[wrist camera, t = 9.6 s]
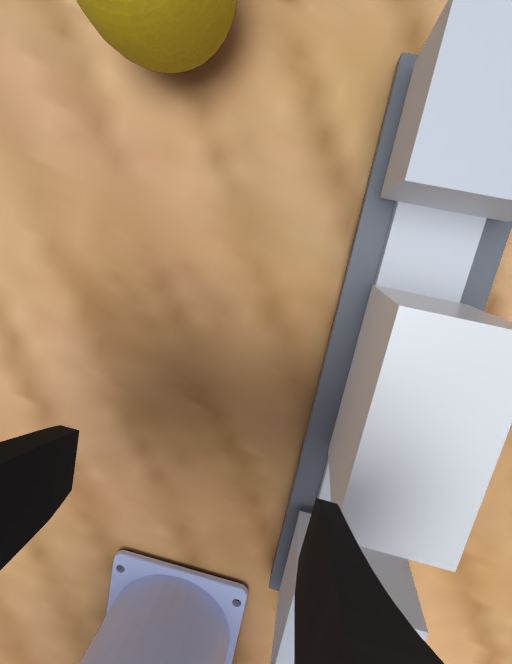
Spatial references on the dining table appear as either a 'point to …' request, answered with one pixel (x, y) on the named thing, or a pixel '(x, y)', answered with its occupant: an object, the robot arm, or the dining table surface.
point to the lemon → (162, 30)
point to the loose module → (421, 424)
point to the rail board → (415, 243)
